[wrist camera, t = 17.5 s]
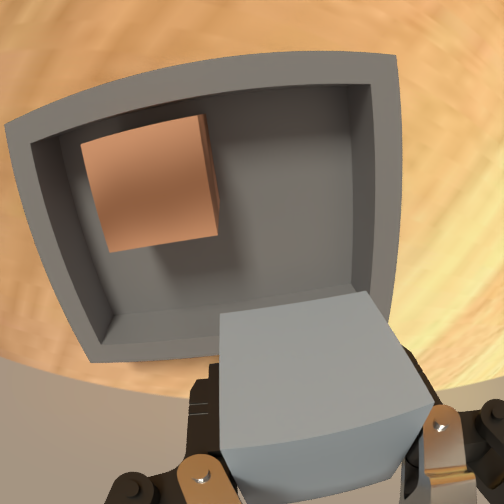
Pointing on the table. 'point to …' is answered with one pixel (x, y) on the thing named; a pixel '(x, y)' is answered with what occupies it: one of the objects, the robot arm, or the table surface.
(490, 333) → the table surface
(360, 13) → the table surface
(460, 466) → the robot arm
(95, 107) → the charcoal tray
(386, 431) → the grey block
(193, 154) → the terracotta block
